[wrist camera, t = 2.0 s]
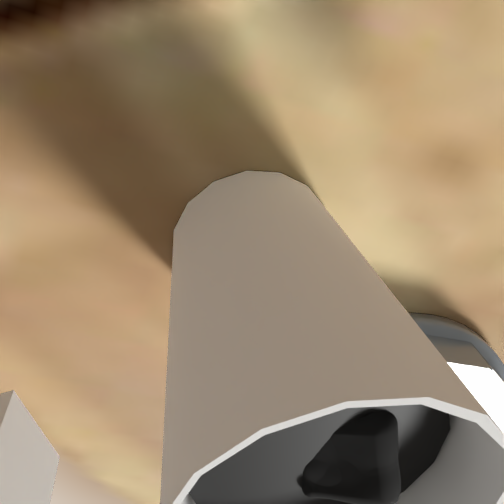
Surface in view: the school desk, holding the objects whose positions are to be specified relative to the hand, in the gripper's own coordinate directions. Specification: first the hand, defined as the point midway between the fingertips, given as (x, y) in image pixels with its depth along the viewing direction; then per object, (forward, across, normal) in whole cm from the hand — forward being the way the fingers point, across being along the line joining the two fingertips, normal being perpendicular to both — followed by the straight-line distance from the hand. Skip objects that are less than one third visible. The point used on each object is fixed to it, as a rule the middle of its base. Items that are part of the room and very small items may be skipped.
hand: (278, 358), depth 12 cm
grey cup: (+6, 0, 0) cm, 6 cm away
